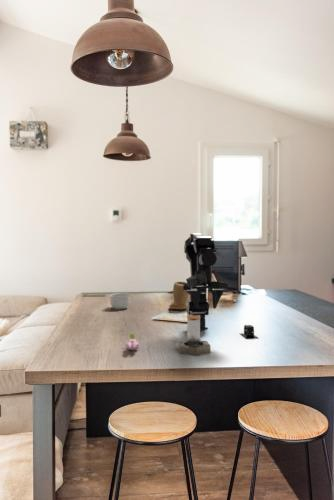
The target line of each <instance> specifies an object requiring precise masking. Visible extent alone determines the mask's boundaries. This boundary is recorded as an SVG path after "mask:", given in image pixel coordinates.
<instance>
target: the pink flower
mask: <svg viewBox="0 0 334 500" xmlns="http://www.w3.org/2000/svg"><path fill="white" fill-rule="evenodd" d="M129 338H130V339H128V340H127V342H123V344H124V345H125V348H127V349H128V350H130V351H134V350H135V349H139V347H140V346H141V344H142V342H141V341H140V342H138V340H137V339H136V338H135V334H134V332H132V333H131V334H130V337H129Z"/></svg>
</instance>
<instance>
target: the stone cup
mask: <svg viewBox="0 0 334 500" xmlns="http://www.w3.org/2000/svg"><path fill="white" fill-rule="evenodd" d="M185 283H187V281H179V280H178V281H175V282H174V283H173V286H172V287H173V289H172V295H173V301H171V302H170V304H169V306H168V308H170V309H172V310H185V309H186V310H187V306H188V298H189V296H190V294H189V293H187V292H186V291H187V290H183V285H184V284H185Z"/></svg>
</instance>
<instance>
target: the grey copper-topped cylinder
mask: <svg viewBox="0 0 334 500" xmlns="http://www.w3.org/2000/svg"><path fill="white" fill-rule="evenodd" d="M186 318H187V319H186V320H187V327H186V328H187V340H188V346H200V340H201V330H200V315H198V314H189V315H188V314H187V315H186Z"/></svg>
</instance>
